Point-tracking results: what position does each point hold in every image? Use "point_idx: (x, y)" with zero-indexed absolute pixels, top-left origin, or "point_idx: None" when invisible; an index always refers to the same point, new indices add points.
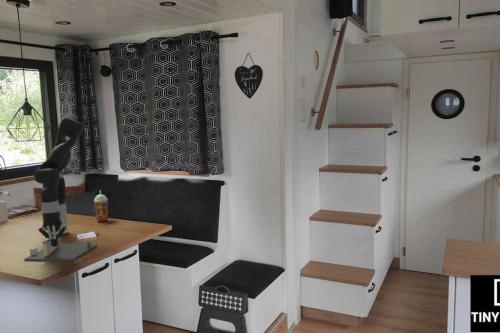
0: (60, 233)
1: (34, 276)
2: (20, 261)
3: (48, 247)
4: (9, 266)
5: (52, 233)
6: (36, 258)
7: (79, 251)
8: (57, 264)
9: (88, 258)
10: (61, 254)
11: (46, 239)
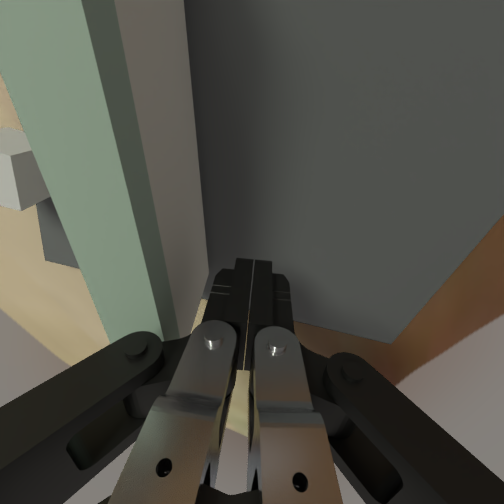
0: (386, 490)
1: (242, 429)
2: (35, 256)
3: (191, 279)
4: (39, 321)
5: (217, 446)
6: None
7: (463, 183)
8: None
9: (490, 305)
10: (303, 230)
11: (131, 329)
